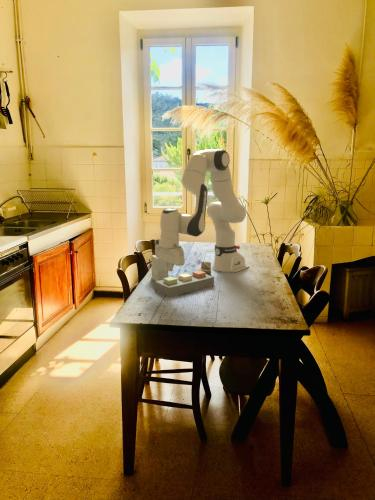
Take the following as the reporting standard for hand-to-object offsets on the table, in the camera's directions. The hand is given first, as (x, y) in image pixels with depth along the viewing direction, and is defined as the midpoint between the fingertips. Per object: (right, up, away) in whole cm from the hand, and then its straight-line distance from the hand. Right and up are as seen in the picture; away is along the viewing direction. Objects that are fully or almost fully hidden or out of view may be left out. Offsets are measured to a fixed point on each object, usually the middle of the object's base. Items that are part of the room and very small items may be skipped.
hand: (169, 270), depth 189 cm
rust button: (+15, -5, +13) cm, 20 cm away
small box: (-6, -6, +21) cm, 22 cm away
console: (+7, -9, +8) cm, 14 cm away
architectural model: (+19, -4, +30) cm, 36 cm away
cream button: (+7, -7, +7) cm, 12 cm away
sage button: (0, -8, +2) cm, 8 cm away
